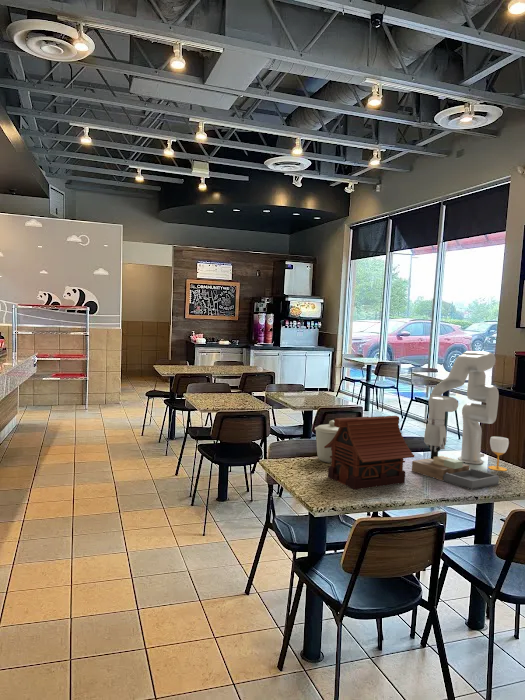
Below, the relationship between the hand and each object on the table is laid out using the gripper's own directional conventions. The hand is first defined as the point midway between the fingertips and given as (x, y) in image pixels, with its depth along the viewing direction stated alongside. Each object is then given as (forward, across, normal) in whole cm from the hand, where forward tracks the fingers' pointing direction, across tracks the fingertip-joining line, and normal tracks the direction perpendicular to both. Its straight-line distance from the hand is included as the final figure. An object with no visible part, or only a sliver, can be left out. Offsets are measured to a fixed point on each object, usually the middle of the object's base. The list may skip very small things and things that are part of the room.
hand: (434, 458), depth 257 cm
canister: (+6, -37, -35) cm, 51 cm away
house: (+7, -3, -44) cm, 44 cm away
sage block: (+1, +11, 0) cm, 11 cm away
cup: (+6, +10, +37) cm, 39 cm away
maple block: (+1, +5, 0) cm, 5 cm away
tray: (+6, +21, 0) cm, 22 cm away
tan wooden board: (+6, +4, 0) cm, 7 cm away
